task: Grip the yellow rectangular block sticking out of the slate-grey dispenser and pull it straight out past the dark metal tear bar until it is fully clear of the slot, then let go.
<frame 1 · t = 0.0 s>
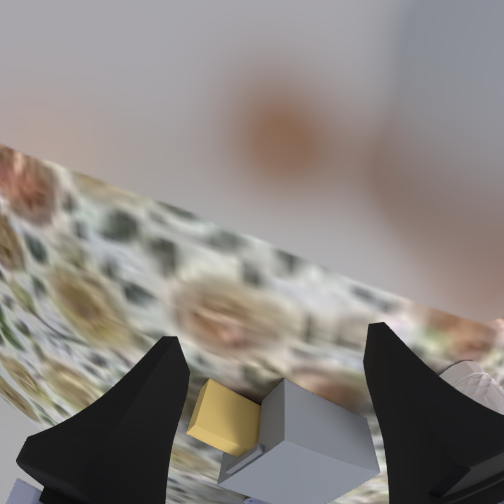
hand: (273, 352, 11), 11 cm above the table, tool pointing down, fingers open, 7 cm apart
white cup: (453, 385, 23), on the table
yellow rectangular block: (251, 430, 22), point 3 cm above the table, slide at 0.0 cm
dispenser: (297, 427, 26), on the table
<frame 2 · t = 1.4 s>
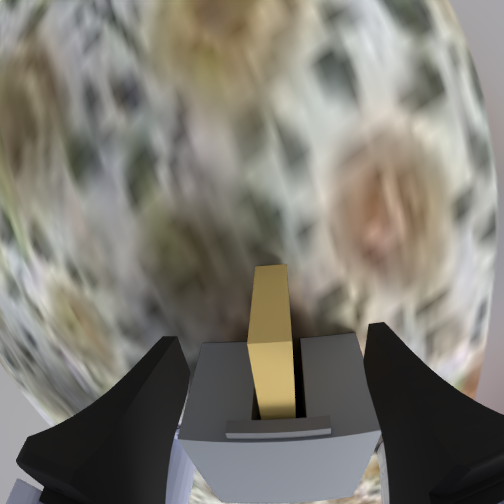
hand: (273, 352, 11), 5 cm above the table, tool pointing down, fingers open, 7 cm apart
white cup: (408, 438, 23), on the table
yellow rectangular block: (278, 377, 15), point 3 cm above the table, slide at 0.0 cm
dispenser: (283, 392, 19), on the table
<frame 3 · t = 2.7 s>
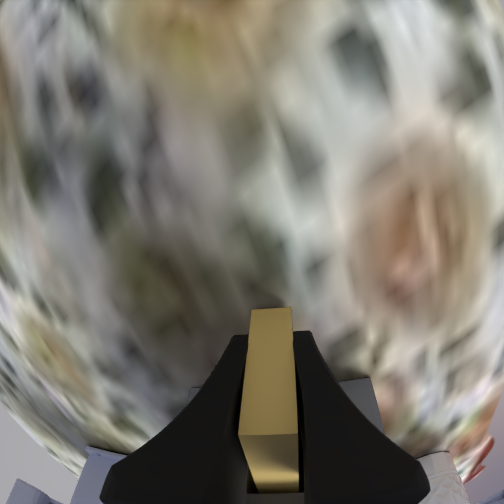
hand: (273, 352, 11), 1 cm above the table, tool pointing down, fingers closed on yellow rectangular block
white cup: (417, 466, 20), on the table
yellow rectangular block: (279, 436, 11), point 3 cm above the table, slide at 0.0 cm, touching gripper
dispenser: (284, 435, 16), on the table
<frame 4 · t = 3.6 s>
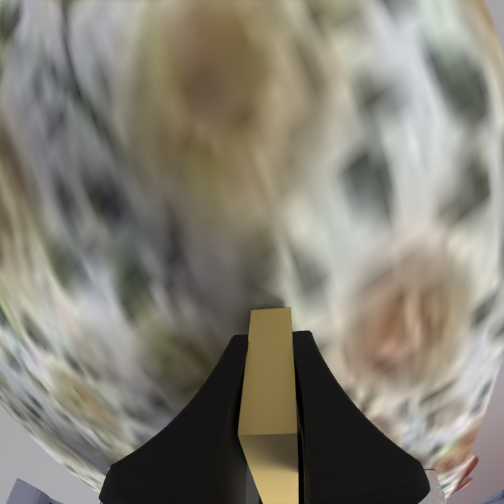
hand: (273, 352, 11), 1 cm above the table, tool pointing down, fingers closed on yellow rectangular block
white cup: (405, 481, 21), on the table
yellow rectangular block: (279, 436, 11), point 3 cm above the table, slide at 4.2 cm, touching gripper
dispenser: (287, 461, 18), on the table
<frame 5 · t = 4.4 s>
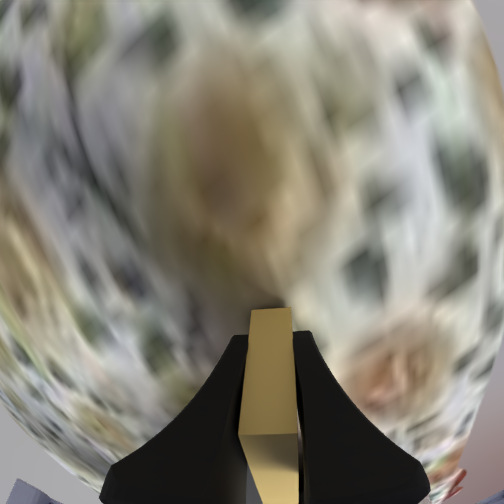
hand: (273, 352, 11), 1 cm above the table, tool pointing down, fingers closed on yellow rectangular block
yellow rectangular block: (279, 436, 11), point 3 cm above the table, slide at 7.7 cm, touching gripper
dispenser: (288, 477, 19), on the table
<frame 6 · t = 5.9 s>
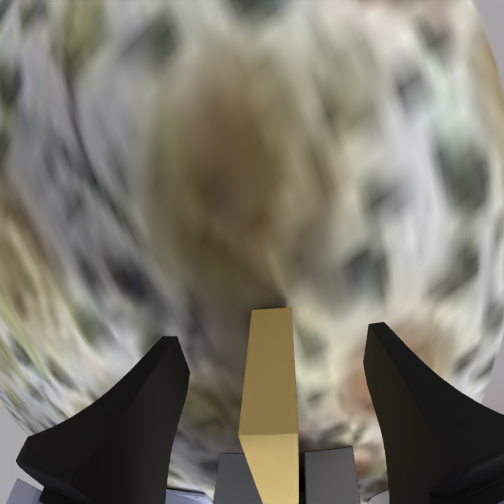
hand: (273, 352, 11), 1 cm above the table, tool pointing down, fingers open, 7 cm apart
white cup: (397, 491, 23), on the table
yellow rectangular block: (279, 437, 11), point 3 cm above the table, slide at 7.7 cm
dispenser: (288, 477, 19), on the table
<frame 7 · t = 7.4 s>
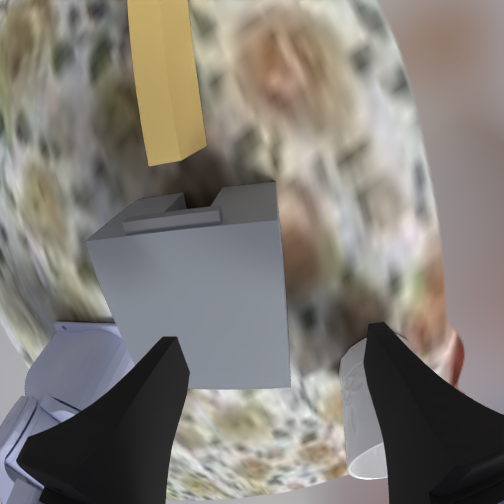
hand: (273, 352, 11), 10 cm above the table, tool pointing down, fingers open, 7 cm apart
white cup: (374, 358, 24), on the table
yellow rectangular block: (168, 62, 13), point 3 cm above the table, slide at 7.7 cm
dispenser: (215, 261, 21), on the table
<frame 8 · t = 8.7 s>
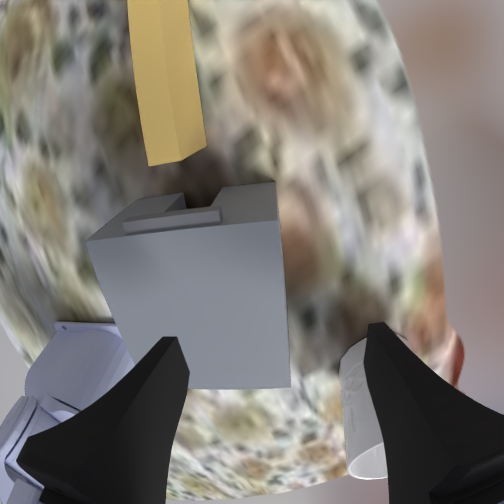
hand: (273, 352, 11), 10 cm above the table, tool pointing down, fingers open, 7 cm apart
white cup: (374, 358, 24), on the table
yellow rectangular block: (168, 62, 13), point 3 cm above the table, slide at 7.7 cm
dispenser: (215, 261, 21), on the table
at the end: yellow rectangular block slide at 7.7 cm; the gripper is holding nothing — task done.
